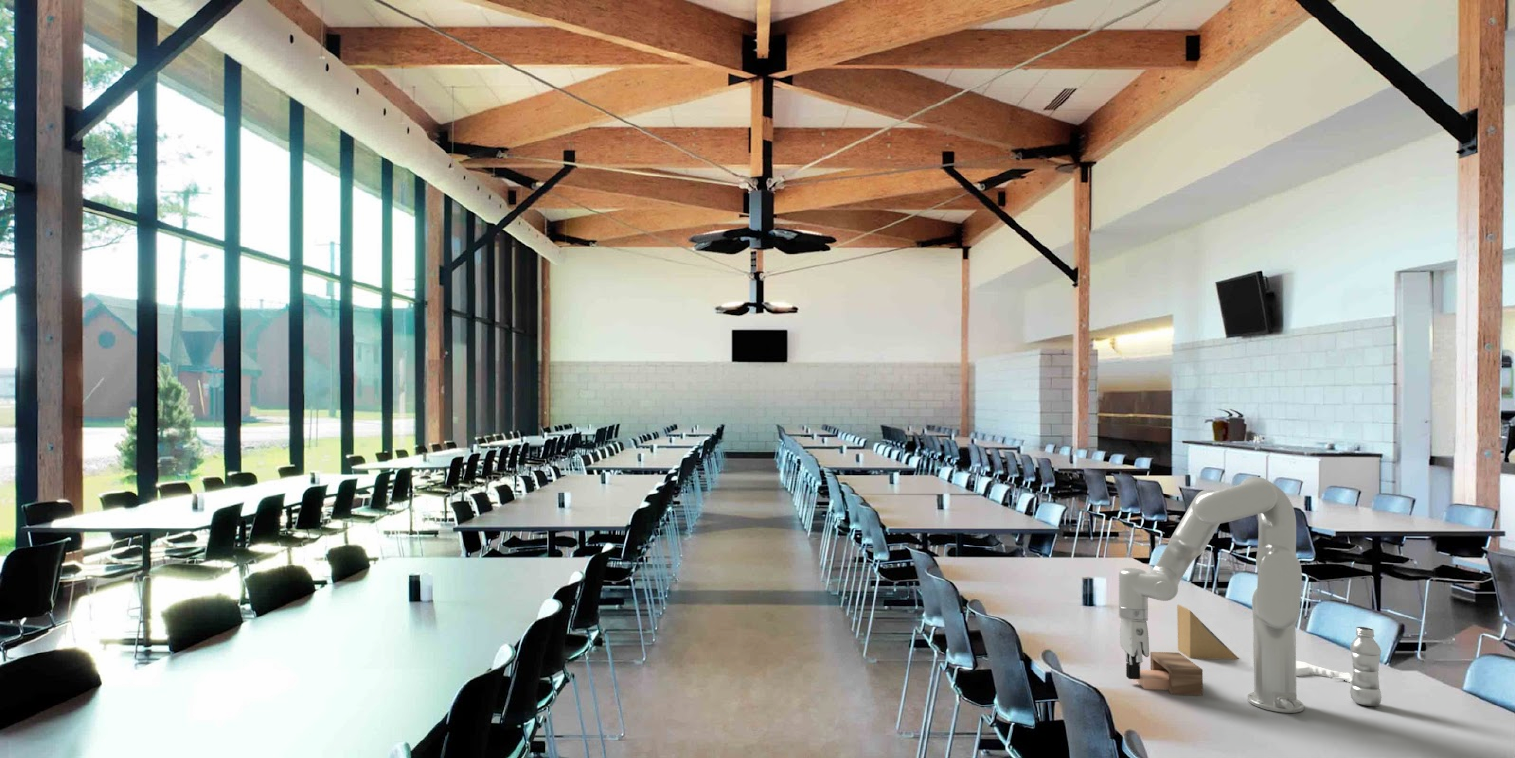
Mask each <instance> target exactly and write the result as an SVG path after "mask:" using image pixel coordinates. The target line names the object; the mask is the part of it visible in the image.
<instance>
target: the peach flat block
mask: <svg viewBox="0 0 1515 758" xmlns="http://www.w3.org/2000/svg"><path fill="white" fill-rule="evenodd" d="M1133 681H1134V682H1135V683H1137V682H1138V683H1139V684H1140V685H1141V686H1142V687H1143V688H1142V687H1141V686H1140V685H1139V684H1138V683H1137V684H1138V685H1139V686H1140V687H1141V688H1142V689H1143V690H1144V689H1145V690H1166V689H1169V671H1165V670H1151V669H1140V679H1133Z"/></svg>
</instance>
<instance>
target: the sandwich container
mask: <svg viewBox="0 0 1515 758" xmlns="http://www.w3.org/2000/svg"><path fill="white" fill-rule="evenodd" d="M1176 606H1177V607H1176V611H1177V614H1176V615H1177V618H1176V619H1177V651H1178V652H1179V653H1180V654H1182V655H1185V656H1186V657H1187V658H1189V659H1204V660H1205V659H1207V660H1208V659H1209V660H1210V659H1211V660H1212V659H1213V660H1215V659H1217V660H1220V659H1221V660H1222V659H1225V660H1228V659H1229V660H1236V659H1239V657H1238V656H1237V655H1236V654H1235V653H1234V652H1233V651H1232V650H1231V649H1230V648H1229V647H1228V646H1227V645H1226V644H1224V642H1223V641H1222V640H1220V638H1219V637H1218V636H1217V635H1216V634H1215V633H1213V631H1211V630H1210V629H1209V627H1207V626H1206V625H1205V624H1204V623H1203V621H1201V620H1200V619H1199V617H1197V616H1196V614H1194V613H1193V612H1192V611H1191V610H1190V609H1189V608H1187V607H1185V606H1183V605H1181V604H1177V605H1176Z"/></svg>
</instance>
